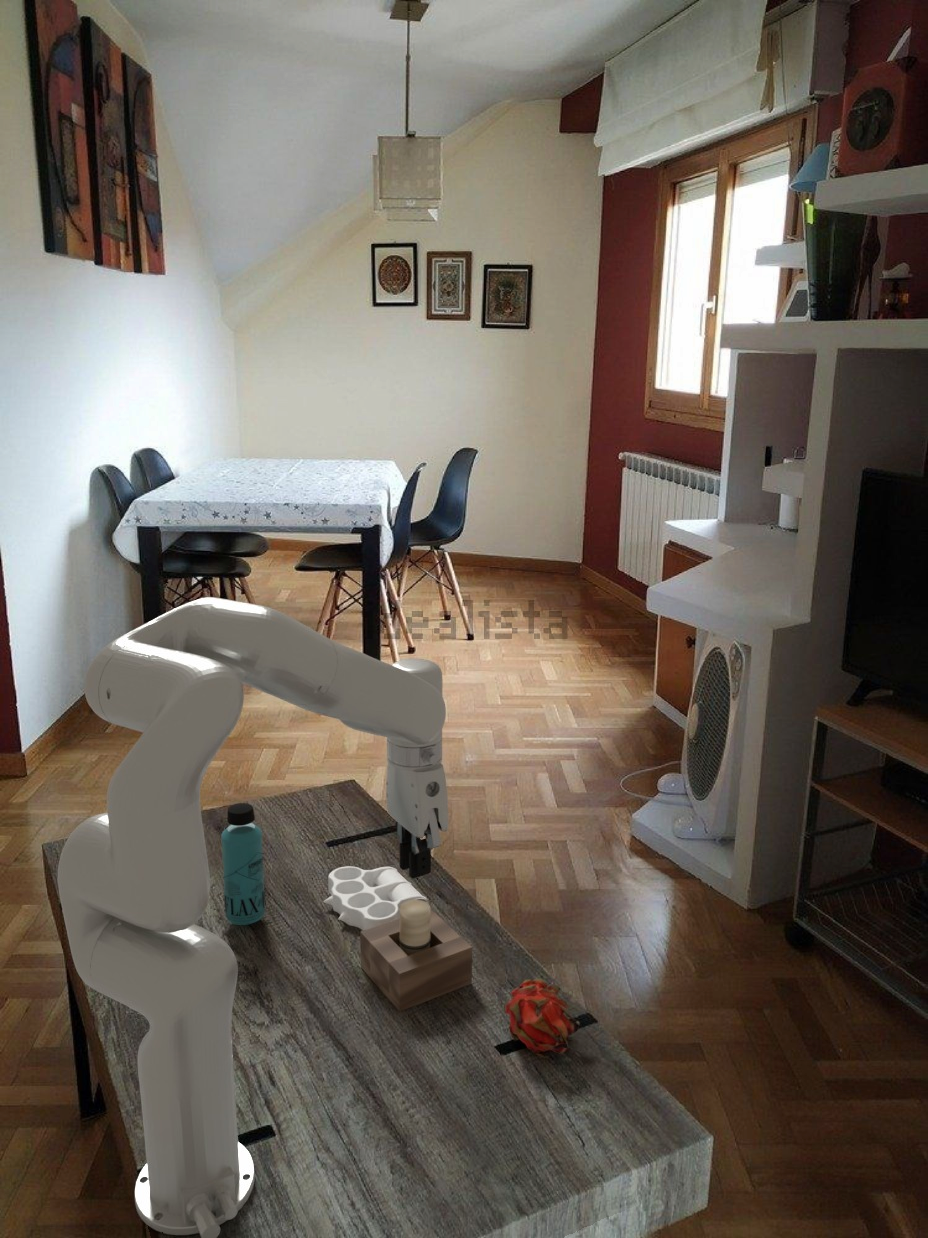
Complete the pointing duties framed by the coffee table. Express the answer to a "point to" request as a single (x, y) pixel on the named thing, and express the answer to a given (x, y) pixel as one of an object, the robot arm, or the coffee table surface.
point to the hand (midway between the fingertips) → (415, 870)
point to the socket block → (416, 963)
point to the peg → (414, 926)
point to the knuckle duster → (369, 895)
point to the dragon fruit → (540, 1017)
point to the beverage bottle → (243, 867)
